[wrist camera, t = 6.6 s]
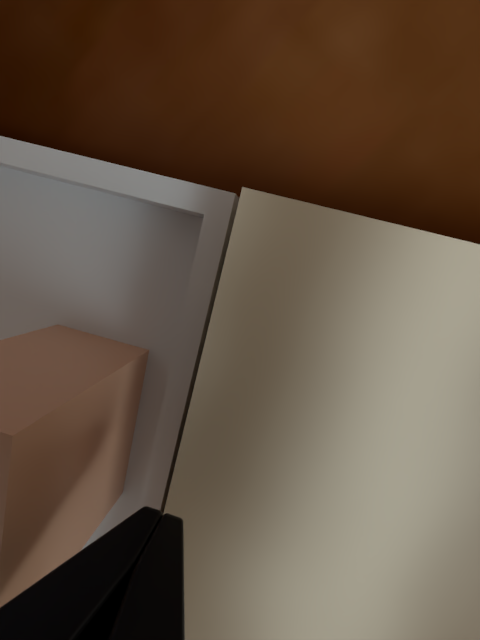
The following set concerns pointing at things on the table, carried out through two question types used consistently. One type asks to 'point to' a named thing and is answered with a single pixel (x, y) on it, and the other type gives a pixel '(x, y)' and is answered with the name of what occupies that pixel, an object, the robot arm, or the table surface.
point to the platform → (334, 434)
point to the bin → (116, 281)
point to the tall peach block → (61, 444)
